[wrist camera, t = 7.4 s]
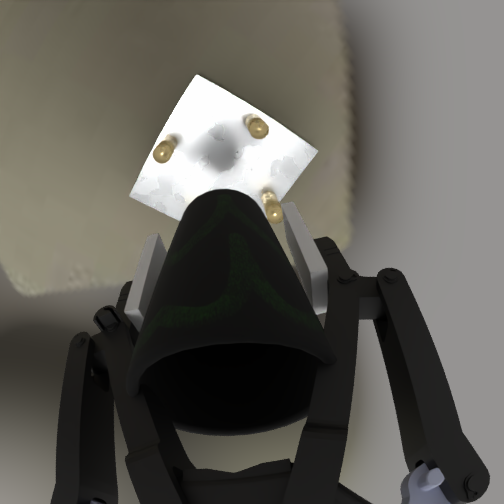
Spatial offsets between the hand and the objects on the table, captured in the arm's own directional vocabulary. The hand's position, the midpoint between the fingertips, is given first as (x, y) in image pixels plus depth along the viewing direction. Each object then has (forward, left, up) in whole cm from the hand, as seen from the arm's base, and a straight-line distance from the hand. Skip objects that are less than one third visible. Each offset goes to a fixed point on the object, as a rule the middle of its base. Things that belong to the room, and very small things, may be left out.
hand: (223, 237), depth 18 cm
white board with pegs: (0, 0, -14) cm, 14 cm away
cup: (0, 0, -1) cm, 1 cm away
